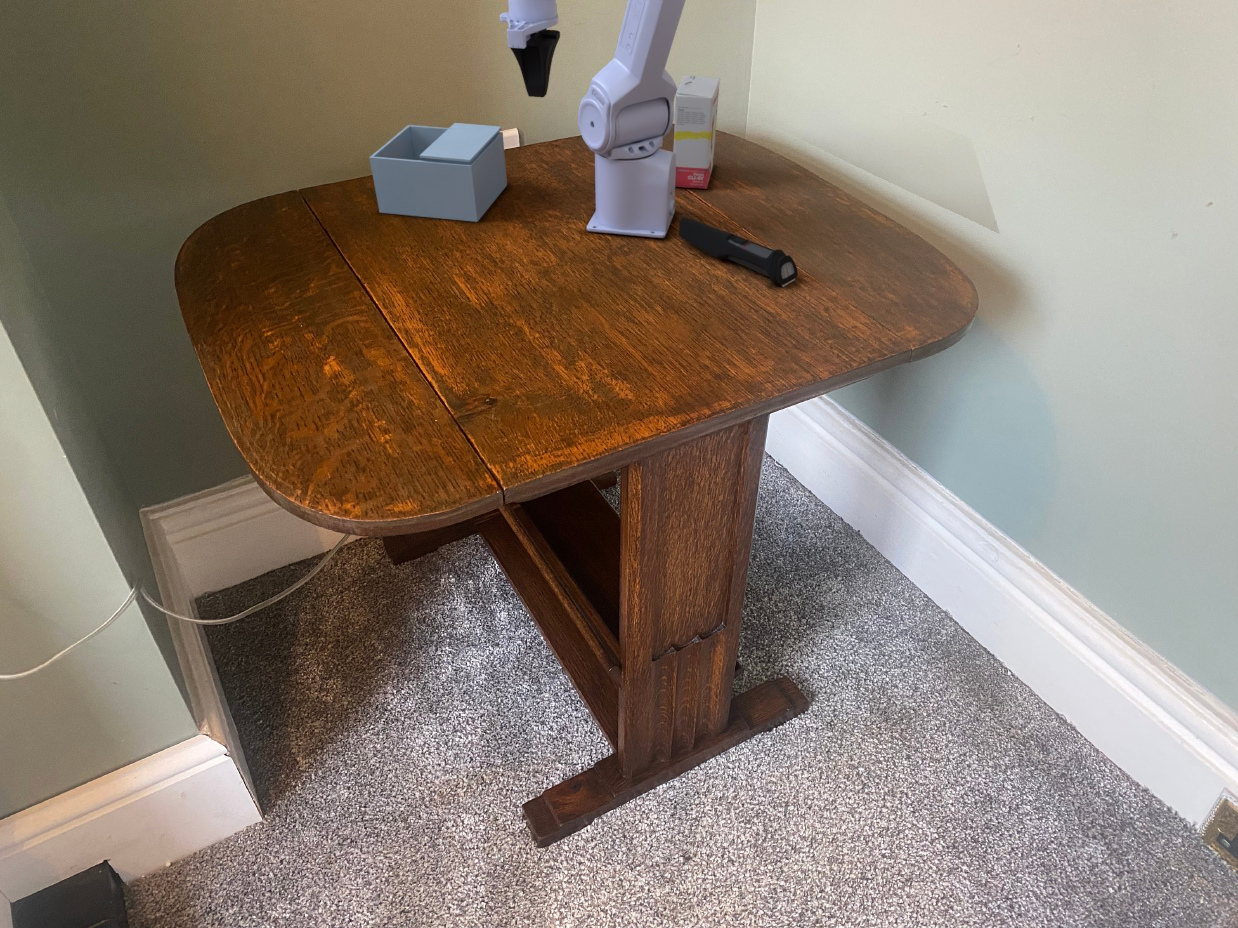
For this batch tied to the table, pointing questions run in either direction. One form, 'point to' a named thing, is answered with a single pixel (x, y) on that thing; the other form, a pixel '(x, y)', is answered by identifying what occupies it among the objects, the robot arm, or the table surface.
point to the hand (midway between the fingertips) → (537, 95)
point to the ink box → (695, 130)
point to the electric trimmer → (739, 251)
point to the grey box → (436, 177)
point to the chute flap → (461, 142)
